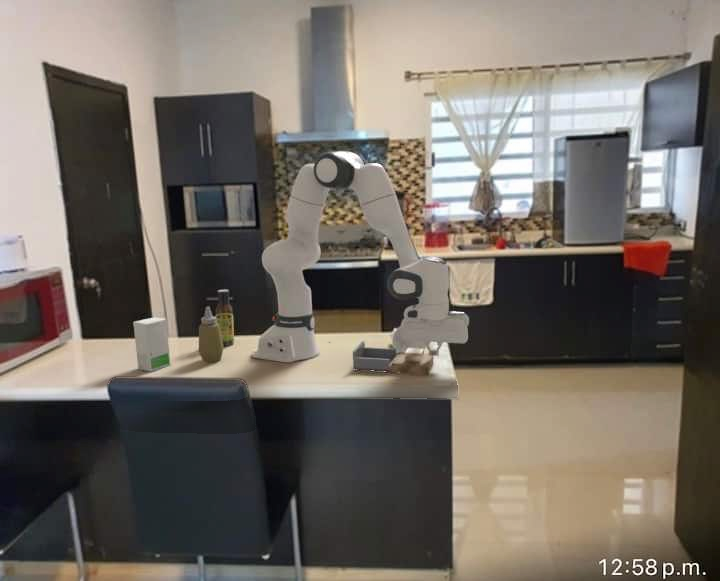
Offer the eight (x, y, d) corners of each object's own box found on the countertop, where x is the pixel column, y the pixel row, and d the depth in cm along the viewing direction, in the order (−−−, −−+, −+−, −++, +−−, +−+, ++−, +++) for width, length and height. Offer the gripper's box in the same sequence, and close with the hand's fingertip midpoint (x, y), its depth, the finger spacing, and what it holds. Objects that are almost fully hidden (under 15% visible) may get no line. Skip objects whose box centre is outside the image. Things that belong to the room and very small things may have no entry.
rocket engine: (393, 314, 200) (406, 315, 183) (418, 334, 202) (433, 336, 184) (374, 341, 199) (385, 344, 181) (399, 360, 200) (413, 365, 183)
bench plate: (391, 372, 170) (391, 363, 169) (398, 361, 180) (398, 352, 180) (428, 375, 167) (428, 365, 166) (433, 363, 177) (433, 354, 177)
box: (353, 370, 173) (352, 351, 172) (362, 358, 183) (362, 341, 182) (391, 372, 170) (391, 353, 169) (398, 361, 180) (398, 343, 179)
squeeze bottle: (229, 357, 189) (225, 305, 185) (213, 365, 181) (209, 310, 178) (210, 354, 192) (206, 303, 188) (194, 362, 185) (189, 308, 181)
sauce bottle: (216, 347, 200) (211, 292, 196) (217, 342, 206) (213, 289, 202) (234, 346, 201) (230, 291, 197) (235, 341, 207) (231, 288, 203)
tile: (404, 360, 171) (404, 352, 171) (407, 355, 176) (407, 347, 175) (421, 361, 170) (421, 353, 169) (423, 356, 174) (423, 348, 174)
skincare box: (150, 372, 176) (145, 324, 173) (136, 369, 179) (131, 322, 176) (171, 364, 183) (167, 318, 180) (158, 361, 186) (153, 316, 183)
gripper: (470, 309, 168) (469, 354, 171) (402, 307, 174) (403, 350, 177) (468, 314, 163) (467, 360, 165) (398, 312, 168) (399, 356, 171)
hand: (433, 355), depth 171 cm, fingers closed
